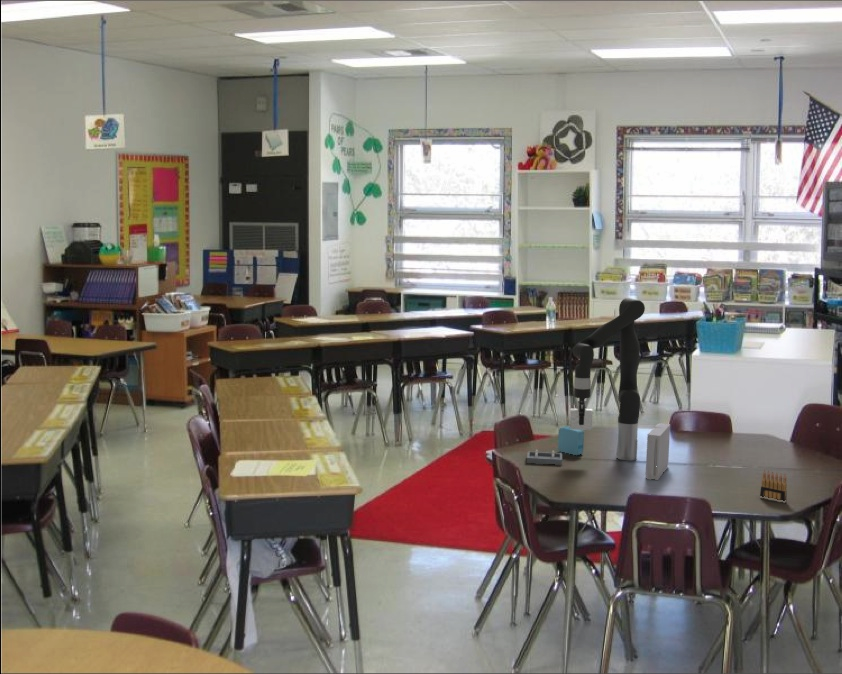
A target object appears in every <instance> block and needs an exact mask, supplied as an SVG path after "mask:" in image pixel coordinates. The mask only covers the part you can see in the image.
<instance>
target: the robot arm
mask: <svg viewBox="0 0 842 674" xmlns="http://www.w3.org/2000/svg"><path fill="white" fill-rule="evenodd" d="M618 308H619V309H618V314H619V315H618V316H616V317H614V318H613V319H611V320H609V321H607V322H606V323H604V324H602V325H601V326H599V327H598V328H597V329H595V331H593V332H592V333H591V334H590V335H588V336H586V337H584V339H581V340H580V341H578V342H577V343H576V344H575V345H574V347H573V348H572V354H573V356H574V357H575V358H577V359H579V362H578V364H576V365H575V369H574V380H573V397H574V398H575V399H578V400H577V408H578V412H579V425H584V416H585V415H584V414H585V411H586V409H587V408H586V407H587V401H586V399H590V398H591V392H592V391H591V389H592V388H591V387H592V386H591V385H592V384H591V382H592V381H591V370H592V369H591V368H592V365H593V362H594V357H595V352H594V349H598V348H600V347H602V346H603V345H605V344H606V342H608V341H609V340H610V339H612V338H613V337H614V336H615V335H617V333H620V334H619V340H620V341H619V372H620V373H619V374H620V375H619V376H620V378H619V379H620V380H619V386H618V387H619V388H618V394H617V398H618V402H619V413H618V416H617V433H616V437H617V438H616V456H615V457H616V459H617V458H618V460H622V461H637V459H638V458H637V456H638V430H639V429H638V428H639V418H640V408H641V397H640V394H639V393H638V392H637V373H638V370H639V365H640V358H641V354H640V353H641V346H640V342H639V338H638V337H637V332H636V329H635V321H636V320H638V319H640V318H641V317H643V316H644V314H645V310H646V306H645V304H644V302H643V301H642V300H639V299H636V298H629V297H626V298H623V299H621V301H620V303H619V307H618ZM580 412H583V414H580Z"/></svg>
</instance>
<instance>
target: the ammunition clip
mask: <svg viewBox="0 0 842 674" xmlns="http://www.w3.org/2000/svg"><path fill="white" fill-rule="evenodd" d="M778 475H779V476H778ZM761 478H762V479H761V486H760V493H759V497H760V496H762V497H764V496H765V497H768V498H774V499H777V500H783V501H785V500H786V501H787V494H788V493H787V475H786V473H785V474H784V476H783V475H782V473H780V474H778V472H775V474H774V471H772V472H771V473H770V471H769V470H768V471H767V473H766V470H765V469H764V471H762V477H761Z"/></svg>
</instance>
